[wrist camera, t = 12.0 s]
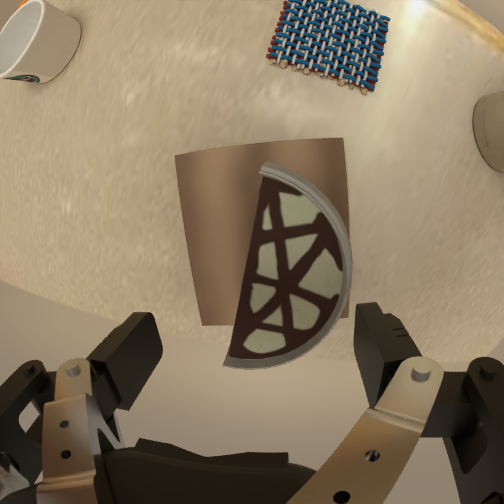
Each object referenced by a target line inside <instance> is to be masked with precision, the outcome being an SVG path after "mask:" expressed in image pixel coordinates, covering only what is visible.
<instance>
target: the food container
mask: <svg viewBox="0 0 504 504" xmlns="http://www.w3.org/2000/svg"><path fill="white" fill-rule="evenodd" d="M259 174H260V175H261V176H262V177H263V179H262V184H261V187H260V190H259V200H258V206H257V211H256V216H255V221H254V226H253V231H252V236H251V241H250V246H249V251H248V256H247V261H246V266H245V271H244V276H243V281H242V286H241V292H240V298H239V303H238V308H237V313H236V318H235V323H234V328H233V334H232V339H231V344H230V347H229V349H228V352H227V355H226V358H225V361H224V363H223V366H224V367H229V368H234V369H245V370H255V369H266V368H271V367H276V366H280V365H283V364H286V363H288V362H291V361H294V360H295V359H297V358H299V357H301V356H303V355H305V354H306V353H308V352H309V351H310V350H312V349H313V348H314V347H316V346H317V345H318V344H319V343H320V342H321V341H322V340H323V339H324V338H325V337H326V336H327V335H328V334H329V332H330V331H331V330H332V328H333V327H334V325H335V324H336V322H337V321H338V319H339V318H340V316H341V314H342V312H343V310H344V307H345V305H346V303H347V299H348V295H349V291H350V287H351V277H352V252H351V244H350V240H349V237H348V234H347V230H346V227H345V225H344V223H343V221H342V219H341V217H340V215H339V213H338V211H337V210H336V209H335V207H334V206H333V204H332V203H331V202H330V200H329V199H328V198H327V197H326V196H325V195H324V194H323V193H322V192H321V191H320V190H319V189H318V188H317V187H316V186H315V185H314V184H313V183H311V182H310V181H308V180H307V179H305V178H304V177H303V176H301V175H300V174H298V173H296V172H294V171H291V170H289V169H287V168H285V167H283V166H280V165H277V164H273V163H269V162H265V163H264V164H263V165H262V167H261V171H259Z"/></svg>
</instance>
